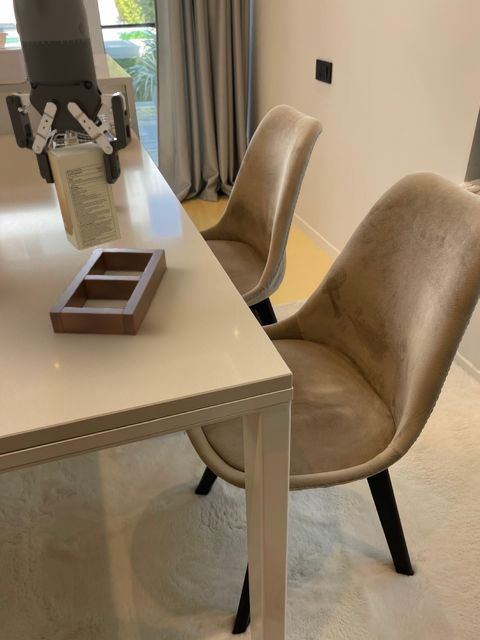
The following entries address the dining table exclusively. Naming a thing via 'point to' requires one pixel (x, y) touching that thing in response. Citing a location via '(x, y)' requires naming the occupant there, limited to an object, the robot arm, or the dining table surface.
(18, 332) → the dining table surface
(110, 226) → the cosmetic box
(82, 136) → the towel
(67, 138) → the pale yellow bottle
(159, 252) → the stand
